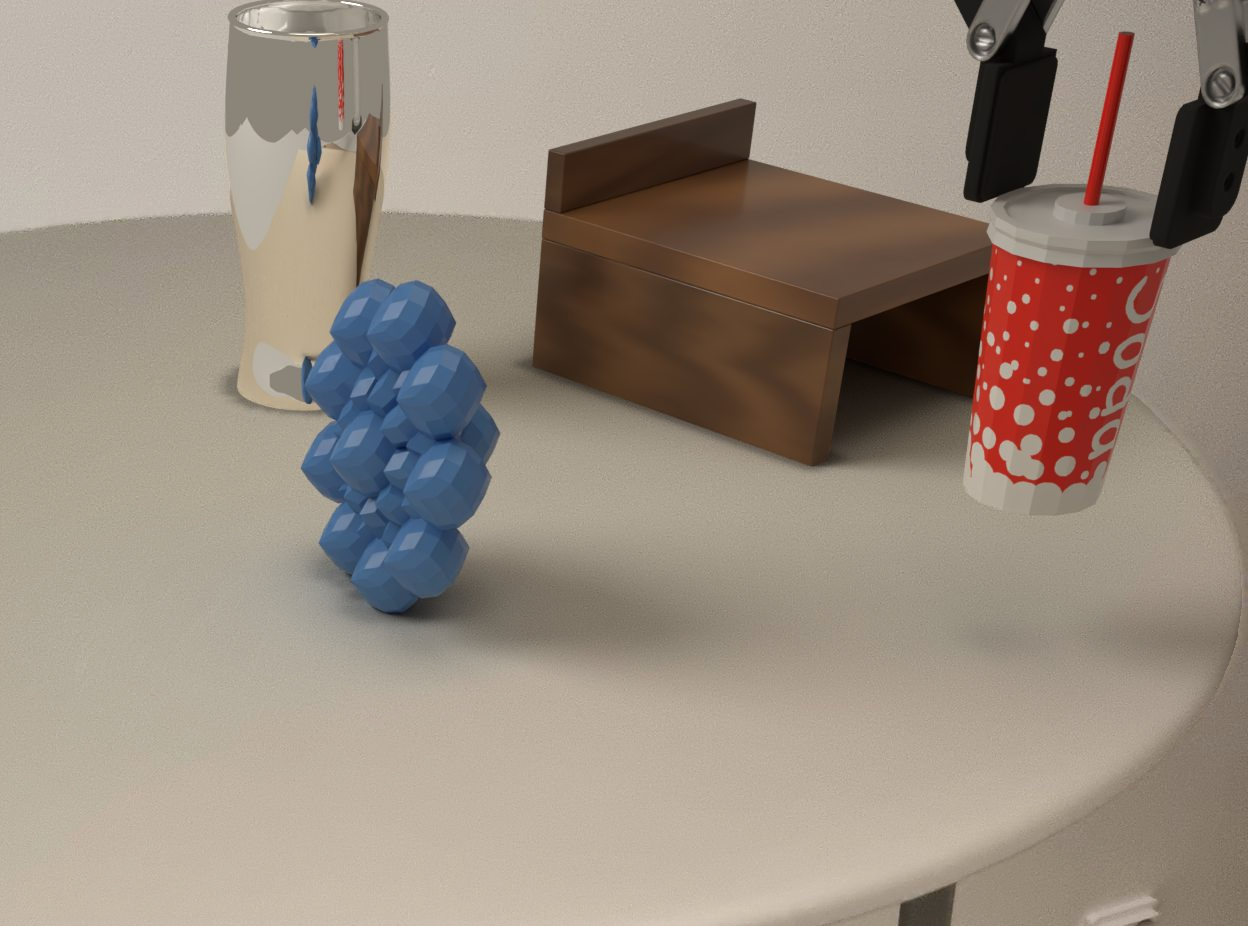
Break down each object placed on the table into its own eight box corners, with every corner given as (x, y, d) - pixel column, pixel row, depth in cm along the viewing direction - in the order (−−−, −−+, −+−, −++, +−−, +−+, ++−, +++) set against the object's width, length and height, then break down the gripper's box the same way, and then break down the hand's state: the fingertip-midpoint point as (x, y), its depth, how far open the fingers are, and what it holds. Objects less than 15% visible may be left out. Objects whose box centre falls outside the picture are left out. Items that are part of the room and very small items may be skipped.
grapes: (564, 655, 78) (597, 307, 71) (395, 688, 76) (409, 334, 68) (423, 533, 86) (438, 208, 78) (266, 560, 84) (265, 230, 76)
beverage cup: (1026, 539, 72) (1126, 68, 63) (903, 478, 76) (979, 26, 67) (1162, 500, 74) (1278, 39, 65) (1035, 442, 78) (1127, 1, 69)
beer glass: (245, 360, 101) (243, -9, 91) (393, 371, 100) (407, 0, 90) (211, 413, 96) (204, 29, 86) (367, 426, 95) (378, 39, 85)
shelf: (990, 399, 98) (1039, 171, 91) (810, 473, 91) (849, 234, 85) (713, 310, 107) (740, 97, 100) (530, 372, 100) (547, 149, 94)
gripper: (1637, -517, 54) (1405, 248, 66) (1040, -529, 64) (932, 140, 76) (1496, -500, 51) (1277, 306, 63) (886, -515, 61) (797, 185, 72)
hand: (1089, 209), depth 69 cm, fingers closed on beverage cup, 6 cm apart
